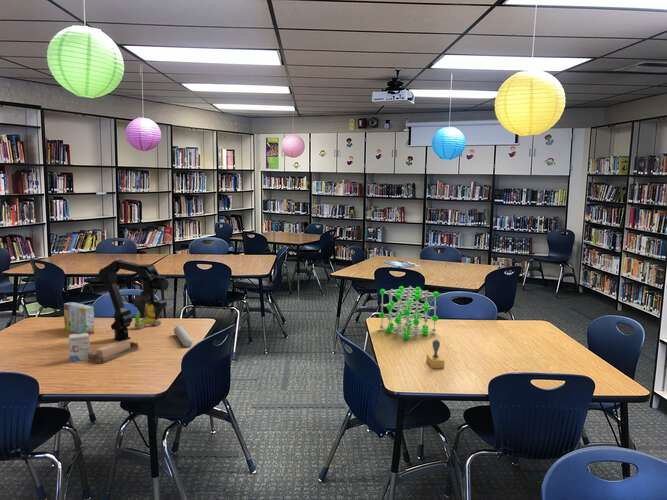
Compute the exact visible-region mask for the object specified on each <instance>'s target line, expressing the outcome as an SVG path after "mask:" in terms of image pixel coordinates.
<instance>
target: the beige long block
mask: <svg viewBox="0 0 667 500" xmlns="http://www.w3.org/2000/svg"><path fill="white" fill-rule="evenodd" d="M130 342H131V341H130V340H128V339H127V340H123V341H117V342H115V343H111V344H109V345H105V346H102V347H99V348H96V353H97V355H102V356H104V357H107V356H110V355H112V354H115V353H118V352H120V351H123V350H125V349H128V348H131V347H130Z"/></svg>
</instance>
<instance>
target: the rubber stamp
mask: <svg viewBox="0 0 667 500" xmlns="http://www.w3.org/2000/svg"><path fill="white" fill-rule="evenodd" d="M431 343H432V348H433V353H426V362H427V363H428V364H429V366H430V367H431V368H432V369H444V368H445V360H444V358H443V356H441V355H440V354H439V349H440V345H441V344H440V343H441V342H440V341H439V340H438V339H434V340H433V341H432V342H431Z"/></svg>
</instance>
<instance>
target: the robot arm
mask: <svg viewBox="0 0 667 500" xmlns="http://www.w3.org/2000/svg"><path fill="white" fill-rule="evenodd" d="M120 270H124V271H129V272H133V273H136V274H137V275H138V276H140V277H139V278H138V281H141V284H142V286H141V287H142V291H140V295H139V296H136V297H134V298H132V299H131V305H133V306H134V307H136V308H137V310H138V311H139V312H140V317H141V318H142V319H143V318H145V304H152V305H153V306H154V308H153V309H154V310H155V319H156V320H157V319H158V320H159V317H160V316H159V315H160V313H161V311H162V309H163V310H164V308H165V307H166V306H167V304H168V303H167V301H166V300H164V299H157V297H155V293H157V291H167V290H168V288H169V281H168V280H167V277H166V276H161V275H160V273H159V272H158V270H157V268H156V267H155V265H154V264H151V263H144V264H143V263H141V264H139V263H134V262H131V261H130V262H129V261H127V260H126V261H125V260H122V259H115V260H113V261H112V262H111V263H109V264H108V265H106V266H105V267H103V268H100V270H99V272H98V276H99V278H100V280H101V282H102V283H103V284H105V286H106V287H107V291H108V293H109V298H110V300H111V302H112V305H113V308H114V317H113V318H114V321H113V322H112V324H111V325H110V328H111V330H112V331H113V330H114V338H112V340H113V341H117V342H120V341H123V340H127V341H128V340H129V339H131V336H129V329H128V328H129V327H130V326H131V323H132V322H133V315H132V311H131V309H127V308H126V307H125V304H124V302H123V298H122V295H121V292H120V290H119V287H118V284H117V280H118V272H119V271H120ZM150 302H151V303H150Z"/></svg>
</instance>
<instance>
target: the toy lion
mask: <svg viewBox="0 0 667 500" xmlns="http://www.w3.org/2000/svg"><path fill="white" fill-rule="evenodd" d="M150 303H151V302H150ZM153 308H154V306H153V305H152V304H145V313H144V317H143V318H142V319H141V320H140V317H141V315H140V312H139V310H138V311H137V312H136V313H135V318H134V321H135V322H134V327H135V328H136V329H138V330H143V329H144V328H145V326H146V325H153V326H155V327H160V326H161V324H162V321H161V320H160V319H159V318H158V319H157V320H156V319H155V310H154V309H153ZM163 312H164V308H163V309H162V311H161V313H160V315H159V317H161V315H162V313H163Z"/></svg>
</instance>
